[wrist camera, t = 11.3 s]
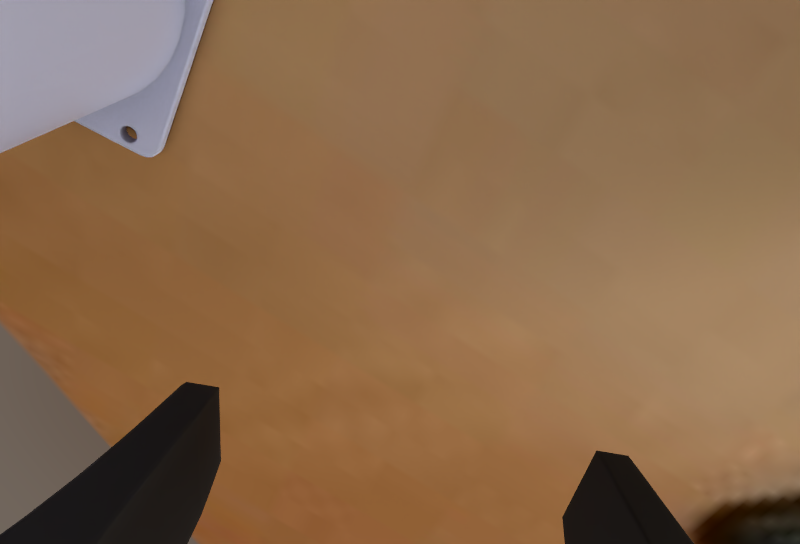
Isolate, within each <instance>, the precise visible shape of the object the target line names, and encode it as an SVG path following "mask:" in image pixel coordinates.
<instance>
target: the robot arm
mask: <svg viewBox="0 0 800 544" xmlns="http://www.w3.org/2000/svg"><path fill="white" fill-rule="evenodd" d="M212 3H213V0H0V153H2V152H4V151H6V150H9V149H11V148H13V147H15V146H18V145H20V144H22V143H25V142H27V141H29V140H31V139H34V138H36V137H38V136H41V135H43V134H45V133H47V132H50V131H52V130H54V129H56V128H59V127H61V126H63V125H66V124H68V123H70V122H72V121H75V122H77V123H79V124H81V125H83V126H85V127H87V128H89V129H90V130H92V131H94V132H96V133H98V134H100V135H102V136H104V137H106V138H108V139H110V140H112V141H114V142H116V143H118V144H120V145H122V146H123V147H125V148H127V149H129V150H131V151H133V152H135V153H137V154H139V155H141V156H144V157H153V156H155V155H157V154H159V153H160V152H161V151H162V150H163V148H164V146H165V143H166V140H167V137H168V134H169V131H170V128H171V125H172V122H173V119H174V116H175V113H176V110H177V107H178V104H179V101H180V98H181V96H182V93H183V90H184V87H185V84H186V81H187V78H188V75H189V72H190V69H191V66H192V63H193V60H194V57H195V54H196V51H197V48H198V45H199V42H200V39H201V36H202V33H203V30H204V27H205V24H206V21H207V18H208V15H209V12H210V9H211V6H212ZM127 126H129V127H131V128H133V129H134V130H135V132H136V134H137V139H134V138H132V137H131V136H130V135H129V134H128V132H127ZM220 462H221V450H220V411H219V387H213V386H207V385H201V384H195V383H189V382H186V383H184V384H183V385H181V386H180V387H179V388H178V389H177V390H176V391H174V392H173V393H172V394H171V395H170V396H169V397H168V398H167V399H166V400H165V401H164V402H162V403H161V404H160V405H159V406H158V407H157V408H156V409H155V410H154V411H153V412H152V413H150V414H149V415H148V416H147V417H146V418H145V419H144V420H143V421H141V422H140V423H139V424H138V425H137V426H136V427H135V428H134V429H132V430H131V431H130V432H129V433H128V434H127V435H126V436H124V437H123V438H122V439H121V440H120V441H119V442H117V443H116V444H115V445H114V446H113V447H111V448H110V449H109V450H108V451H107V452H106V453H104V454H103V455H102V456H101V457H100V458H98V459H97V460H96V461H95V462H94V463H92V464H91V465H90V466H89V467H88V468H87V469H85V470H84V471H83V472H82V473H80V474H79V475H78V476H77V477H76V478H74V479H73V480H72V481H71V482H69V483H68V484H67V485H65V486H64V487H63V488H61V489H60V490H59V491H58V492H56V493H55V494H54V495H52V496H51V497H50V498H48V499H47V500H46V501H45V502H43V503H42V504H41V505H40V506H38V507H37V508H36V509H34V510H33V511H32V512H30V513H29V514H28V515H27V516H25V517H24V518H22V519H21V520H20V521H19V522H17V523H16V524H14V525H13V526H12V527H10V528H9V529H7V530H6V531H5V532H3V533H2V534H0V544H187V543H188V541H189V539H190V537H191V535H192V533H193V531H194V529H195V527H196V525H197V522H198V520H199V518H200V516H201V514H202V511H203V509H204V506H205V503H206V501H207V498H208V495H209V493H210V490H211V487H212V484H213V481H214V479H215V476H216V473H217V470H218V467H219V464H220ZM563 527H564V539H565V544H694V543H693V542H692V541H691V539H690V538H689V537H688V535H687V534H686V533H685V531H684V530H683V529H682V527H681V526H680V525H679V523H678V522H677V521H676V519H675V518H674V517H673V515H672V514H671V513H670V511H669V510H668V509H667V507H666V506H665V505H664V503H663V502H662V500H661V499H660V498H659V496H658V495H657V494H656V492H655V491H654V490H653V488H652V487H651V486H650V484H649V483H648V481H647V480H646V479H645V477H644V476H643V475H642V473H641V472H640V471H639V469H638V468H637V467H636V465H635V464H634V463H633V462H632V460H631V459H630V458H629V456H625V455H619V454H613V453H607V452H601V451H596V453H595V455H594V457H593V459H592V461H591V463H590V465H589V466H588V468H587V470H586V472H585V474H584V476H583V478H582V480H581V482H580V484H579V486H578V488H577V490H576V492H575V494H574V496H573V498H572V500H571V502H570V504H569V505H568V507H567V509H566V511H565V513H564V515H563Z"/></svg>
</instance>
